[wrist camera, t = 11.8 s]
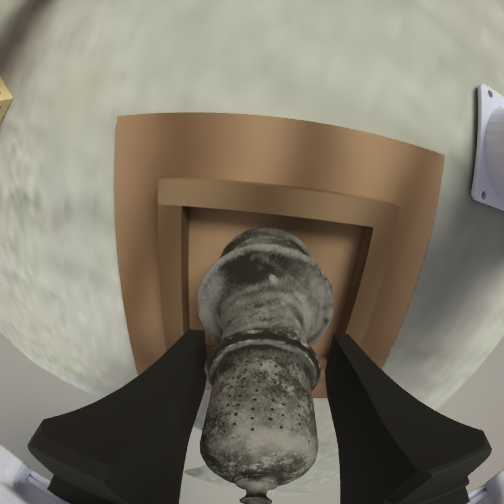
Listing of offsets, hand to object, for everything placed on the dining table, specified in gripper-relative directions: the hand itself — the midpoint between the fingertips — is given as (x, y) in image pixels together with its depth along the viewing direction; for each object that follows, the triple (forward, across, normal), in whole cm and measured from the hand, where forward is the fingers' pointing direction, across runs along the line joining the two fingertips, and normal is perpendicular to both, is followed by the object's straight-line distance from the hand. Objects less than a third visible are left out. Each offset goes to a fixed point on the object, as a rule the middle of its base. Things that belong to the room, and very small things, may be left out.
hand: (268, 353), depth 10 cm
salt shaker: (+6, 0, -1) cm, 6 cm away
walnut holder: (+6, 0, 0) cm, 6 cm away
